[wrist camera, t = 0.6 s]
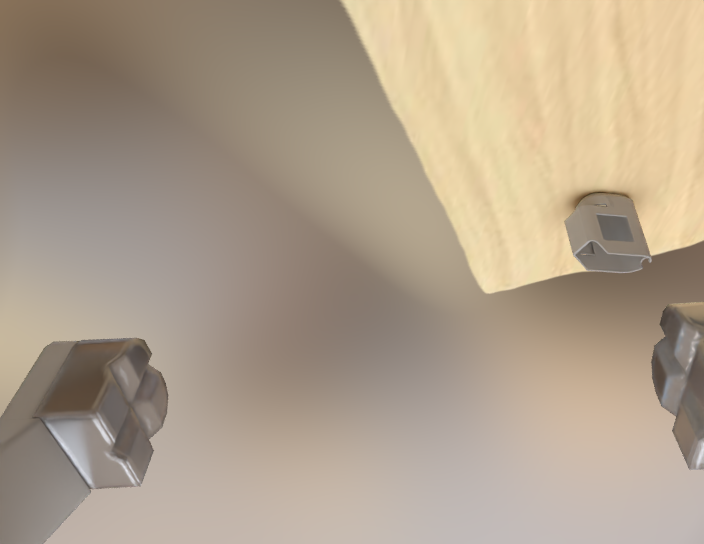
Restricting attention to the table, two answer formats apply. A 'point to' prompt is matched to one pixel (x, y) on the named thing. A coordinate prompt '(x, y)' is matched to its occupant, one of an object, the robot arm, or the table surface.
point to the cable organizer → (607, 234)
